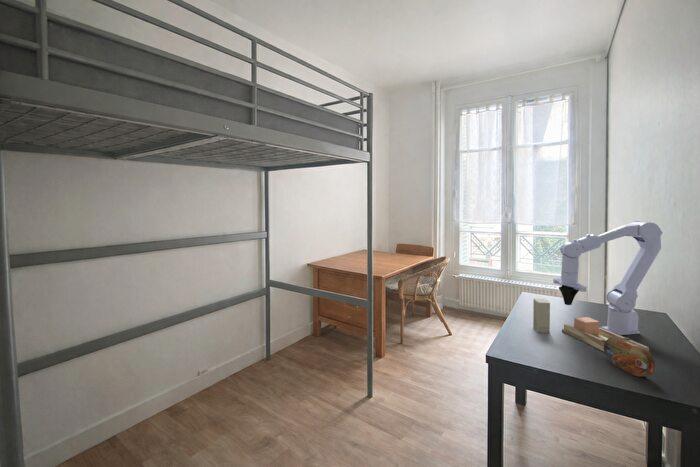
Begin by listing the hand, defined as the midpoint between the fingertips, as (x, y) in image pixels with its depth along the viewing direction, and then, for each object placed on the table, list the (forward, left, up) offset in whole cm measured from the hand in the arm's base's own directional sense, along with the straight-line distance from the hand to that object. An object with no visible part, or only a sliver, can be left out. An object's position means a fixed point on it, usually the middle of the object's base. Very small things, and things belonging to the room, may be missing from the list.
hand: (568, 304), depth 137 cm
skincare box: (+13, +1, -10) cm, 16 cm away
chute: (0, +16, -9) cm, 19 cm away
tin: (+10, +34, -10) cm, 37 cm away
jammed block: (0, +9, -8) cm, 12 cm away
